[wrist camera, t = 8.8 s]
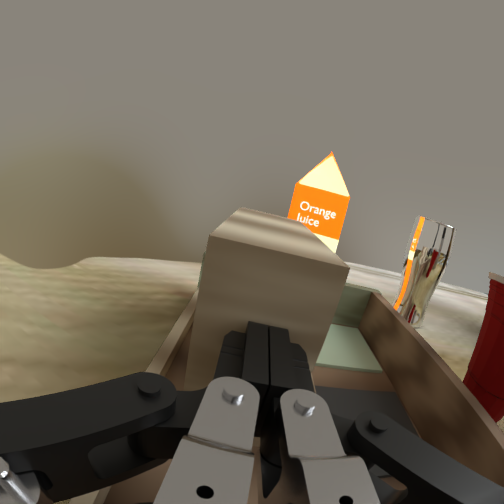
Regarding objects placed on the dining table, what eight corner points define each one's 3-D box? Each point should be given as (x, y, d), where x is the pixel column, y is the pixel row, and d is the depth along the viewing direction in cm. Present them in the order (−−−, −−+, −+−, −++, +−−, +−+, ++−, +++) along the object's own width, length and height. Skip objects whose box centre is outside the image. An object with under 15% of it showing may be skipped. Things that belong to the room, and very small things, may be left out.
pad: (295, 319, 28) (296, 317, 28) (356, 330, 28) (357, 328, 28) (305, 364, 21) (306, 361, 20) (381, 373, 21) (382, 370, 20)
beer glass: (431, 329, 35) (465, 232, 31) (403, 330, 33) (440, 221, 29) (405, 309, 41) (433, 222, 38) (376, 308, 39) (406, 212, 36)
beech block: (217, 315, 25) (240, 206, 23) (270, 327, 25) (299, 221, 23) (178, 430, 12) (209, 234, 9) (275, 448, 12) (349, 267, 10)
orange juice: (269, 283, 40) (303, 144, 36) (279, 269, 49) (307, 155, 44) (322, 298, 39) (359, 158, 34) (322, 281, 47) (353, 166, 43)
